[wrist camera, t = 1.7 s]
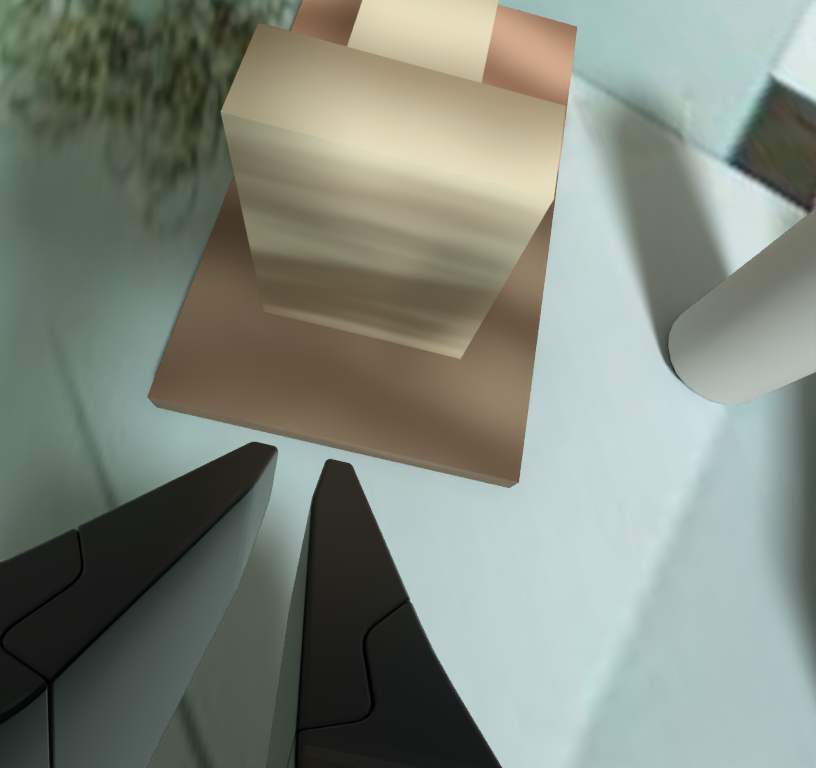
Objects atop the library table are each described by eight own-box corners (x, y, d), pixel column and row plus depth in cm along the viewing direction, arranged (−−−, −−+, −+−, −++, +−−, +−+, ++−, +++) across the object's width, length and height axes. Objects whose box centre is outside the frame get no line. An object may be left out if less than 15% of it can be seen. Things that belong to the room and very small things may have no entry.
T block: (460, 358, 23) (553, 198, 14) (263, 311, 22) (220, 111, 13) (495, 166, 26) (588, -66, 17) (326, 121, 26) (327, -141, 17)
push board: (509, 487, 23) (518, 482, 21) (156, 407, 22) (147, 396, 21) (568, 46, 32) (577, 26, 30) (320, -23, 31) (320, -46, 30)
